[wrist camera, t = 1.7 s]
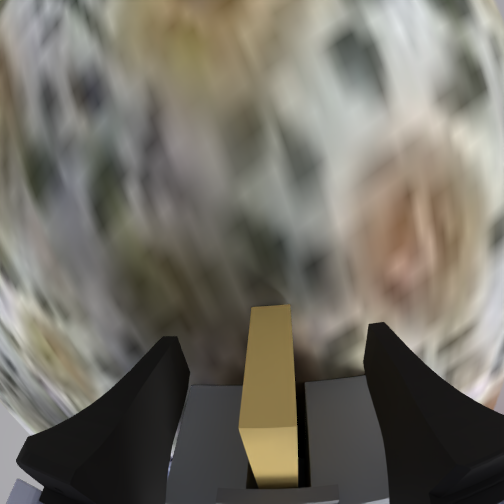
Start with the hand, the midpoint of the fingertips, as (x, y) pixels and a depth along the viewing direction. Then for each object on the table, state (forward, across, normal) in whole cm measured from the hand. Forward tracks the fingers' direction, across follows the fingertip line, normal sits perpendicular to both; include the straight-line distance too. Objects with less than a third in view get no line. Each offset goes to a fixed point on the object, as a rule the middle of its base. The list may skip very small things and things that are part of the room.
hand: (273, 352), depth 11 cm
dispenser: (+2, 0, +9) cm, 9 cm away
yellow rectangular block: (+1, 0, +4) cm, 4 cm away
